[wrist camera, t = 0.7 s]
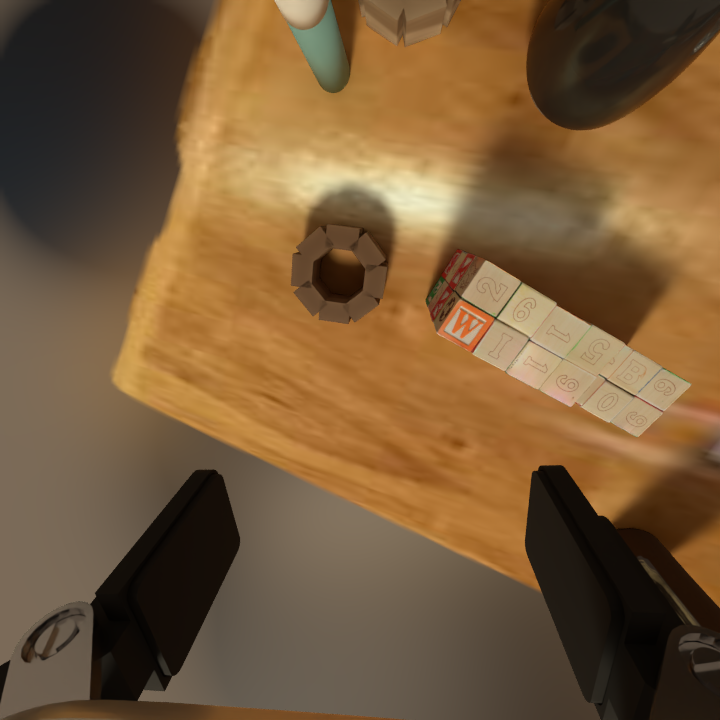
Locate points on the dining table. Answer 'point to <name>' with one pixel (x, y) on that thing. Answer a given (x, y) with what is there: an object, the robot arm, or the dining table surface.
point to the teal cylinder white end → (318, 40)
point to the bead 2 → (408, 18)
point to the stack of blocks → (548, 345)
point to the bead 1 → (316, 291)
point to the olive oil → (673, 580)
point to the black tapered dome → (612, 55)
